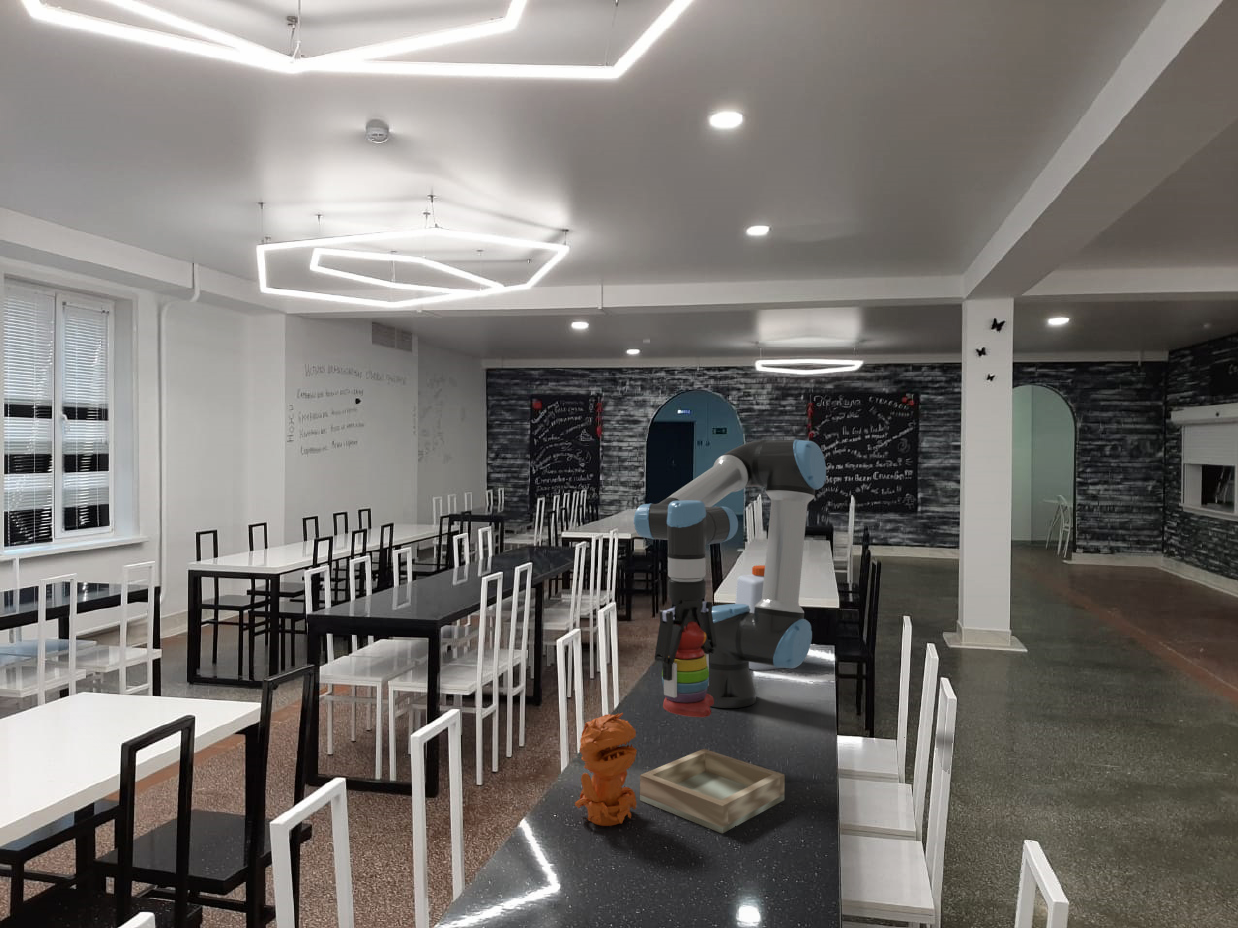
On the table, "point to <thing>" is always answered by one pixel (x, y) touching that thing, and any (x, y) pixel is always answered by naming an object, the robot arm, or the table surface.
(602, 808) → the toy dinosaur
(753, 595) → the plastic bottle
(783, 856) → the table surface
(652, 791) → the open wooden box
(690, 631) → the stacking bear
